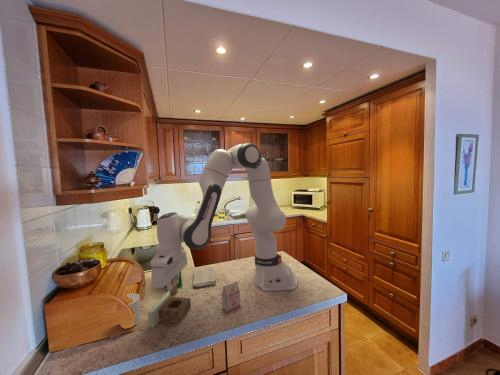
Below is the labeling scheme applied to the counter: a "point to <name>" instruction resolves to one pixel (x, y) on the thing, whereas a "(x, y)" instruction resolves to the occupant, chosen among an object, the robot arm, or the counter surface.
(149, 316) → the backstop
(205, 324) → the counter surface
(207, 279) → the washcloth
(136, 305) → the white cup
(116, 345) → the counter surface
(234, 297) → the tea bag
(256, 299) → the counter surface
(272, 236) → the robot arm
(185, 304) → the block
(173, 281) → the dowel
